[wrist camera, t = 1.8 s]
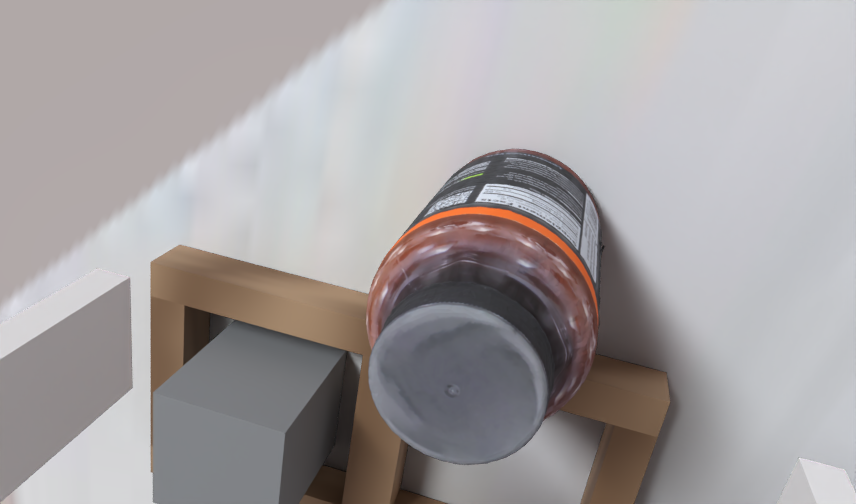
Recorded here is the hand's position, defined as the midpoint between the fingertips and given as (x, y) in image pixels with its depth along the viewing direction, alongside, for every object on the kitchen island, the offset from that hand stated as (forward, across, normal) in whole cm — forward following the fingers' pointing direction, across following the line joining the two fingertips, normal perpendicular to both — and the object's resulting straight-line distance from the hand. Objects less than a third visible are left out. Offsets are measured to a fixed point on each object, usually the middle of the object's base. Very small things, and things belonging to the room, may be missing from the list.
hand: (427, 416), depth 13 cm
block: (+13, +8, +10) cm, 18 cm away
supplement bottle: (+13, 0, 0) cm, 13 cm away
